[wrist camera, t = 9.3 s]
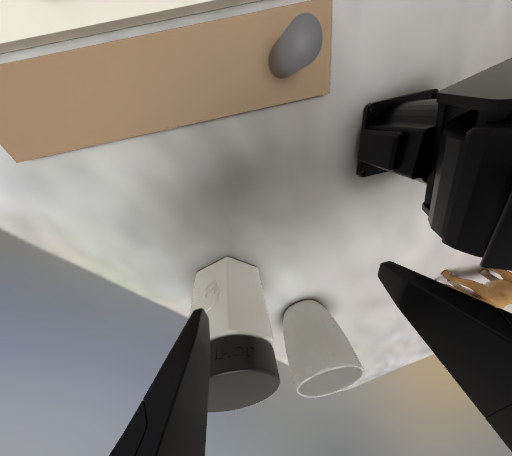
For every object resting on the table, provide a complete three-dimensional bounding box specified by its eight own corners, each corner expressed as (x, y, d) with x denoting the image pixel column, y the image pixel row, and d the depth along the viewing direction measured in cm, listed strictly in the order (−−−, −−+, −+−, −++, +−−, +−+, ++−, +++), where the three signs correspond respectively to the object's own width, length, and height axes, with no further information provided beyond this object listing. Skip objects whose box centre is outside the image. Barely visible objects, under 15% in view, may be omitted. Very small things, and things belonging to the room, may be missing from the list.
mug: (266, 317, 31) (282, 393, 22) (306, 286, 28) (341, 360, 20) (310, 336, 37) (336, 402, 28) (347, 312, 34) (388, 377, 26)
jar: (241, 246, 22) (257, 356, 12) (270, 283, 27) (298, 387, 16) (180, 277, 23) (149, 402, 13) (217, 308, 28) (214, 420, 18)
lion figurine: (516, 246, 31) (610, 288, 23) (502, 267, 34) (582, 311, 26) (431, 273, 32) (496, 324, 24) (424, 292, 34) (481, 342, 27)
